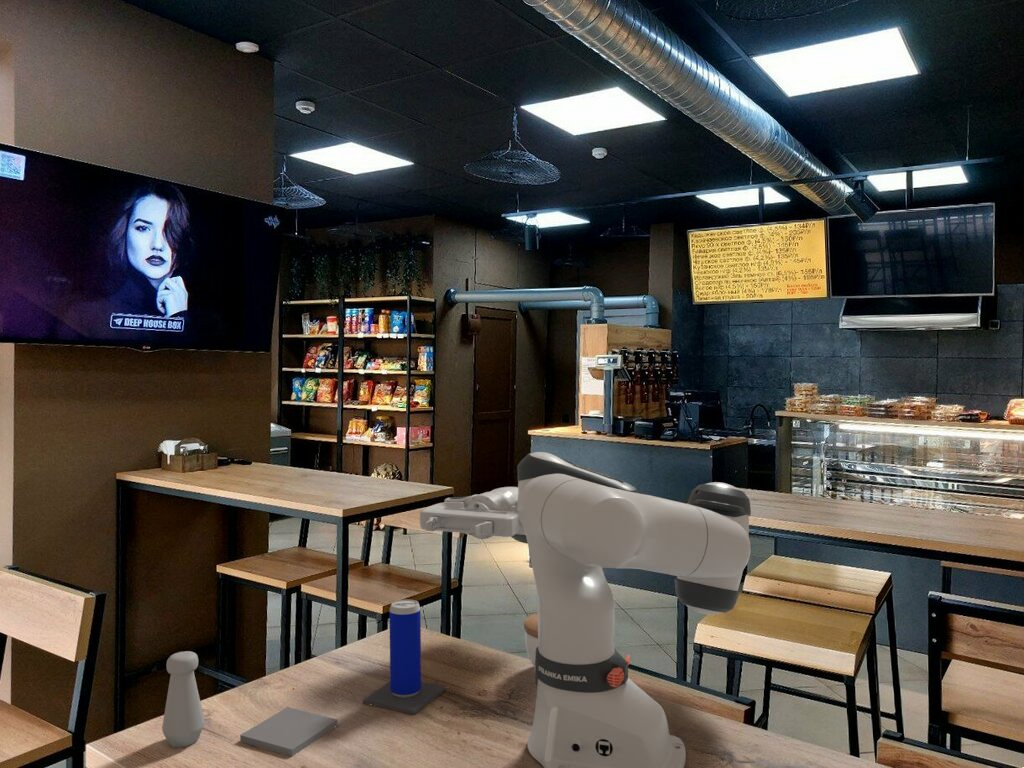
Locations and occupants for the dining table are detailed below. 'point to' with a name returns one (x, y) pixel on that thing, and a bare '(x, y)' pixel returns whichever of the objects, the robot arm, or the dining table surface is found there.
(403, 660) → the beverage can
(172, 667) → the salt shaker
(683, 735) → the dining table surface
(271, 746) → the ceramic tile
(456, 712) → the dining table surface
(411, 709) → the rubber mat
